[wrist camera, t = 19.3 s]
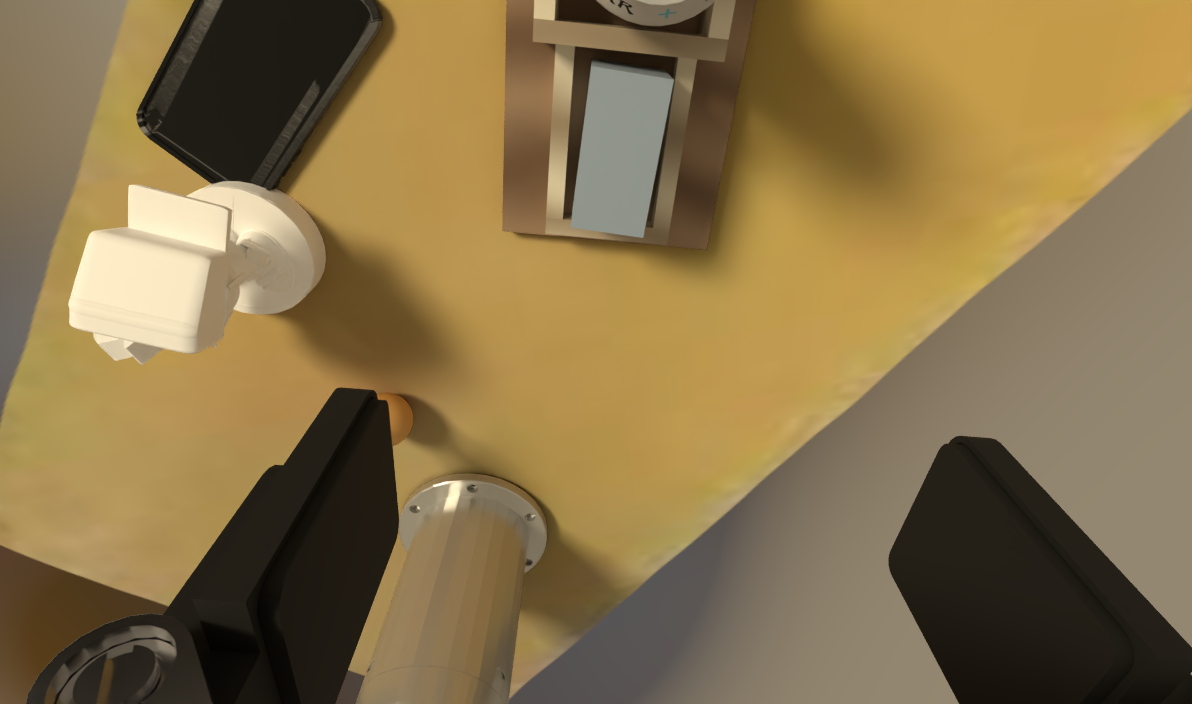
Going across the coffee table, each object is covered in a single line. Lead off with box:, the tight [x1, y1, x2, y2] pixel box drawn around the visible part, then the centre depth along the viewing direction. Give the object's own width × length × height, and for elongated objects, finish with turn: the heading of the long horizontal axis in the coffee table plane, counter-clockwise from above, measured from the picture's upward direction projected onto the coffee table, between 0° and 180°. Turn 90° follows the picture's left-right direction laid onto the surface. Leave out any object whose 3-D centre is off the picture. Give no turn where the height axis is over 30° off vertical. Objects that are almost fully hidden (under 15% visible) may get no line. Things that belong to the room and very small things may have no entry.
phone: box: [136, 0, 383, 191], centre depth 34 cm, size 8×1×15 cm
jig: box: [502, 0, 756, 250], centre depth 32 cm, size 20×13×4 cm, turn 174°
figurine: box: [377, 393, 413, 446], centre depth 40 cm, size 8×6×12 cm
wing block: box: [570, 58, 674, 238], centre depth 33 cm, size 8×4×5 cm, turn 172°
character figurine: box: [68, 181, 326, 365], centre depth 34 cm, size 9×10×12 cm
